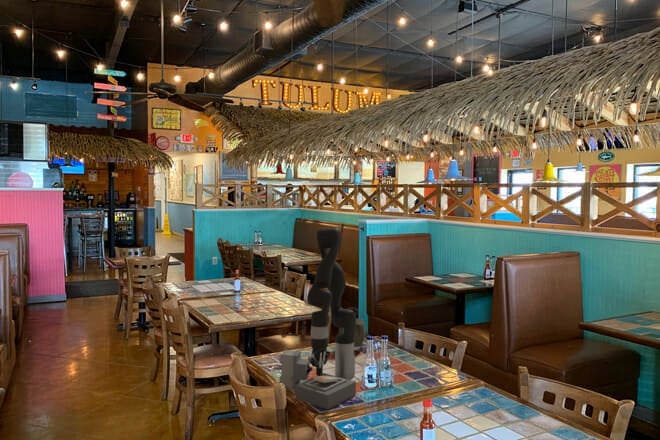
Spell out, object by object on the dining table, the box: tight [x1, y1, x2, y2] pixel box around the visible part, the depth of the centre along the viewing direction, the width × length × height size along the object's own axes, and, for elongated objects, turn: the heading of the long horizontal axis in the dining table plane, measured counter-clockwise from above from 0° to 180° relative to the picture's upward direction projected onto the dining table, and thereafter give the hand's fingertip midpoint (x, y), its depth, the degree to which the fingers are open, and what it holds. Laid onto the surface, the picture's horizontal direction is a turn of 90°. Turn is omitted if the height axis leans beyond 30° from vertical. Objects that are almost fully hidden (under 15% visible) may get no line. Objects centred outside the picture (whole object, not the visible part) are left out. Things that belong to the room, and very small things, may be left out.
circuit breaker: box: [279, 349, 313, 389], centre depth 236 cm, size 8×14×15 cm, turn 78°
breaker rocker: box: [313, 375, 338, 383], centre depth 222 cm, size 10×6×1 cm, turn 142°
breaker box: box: [295, 372, 357, 410], centre depth 222 cm, size 20×18×7 cm
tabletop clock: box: [338, 307, 366, 351], centre depth 290 cm, size 14×9×25 cm, turn 79°
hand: (319, 375), depth 218 cm, fingers closed
